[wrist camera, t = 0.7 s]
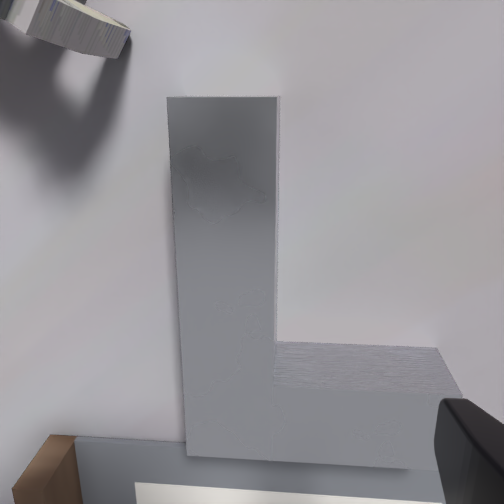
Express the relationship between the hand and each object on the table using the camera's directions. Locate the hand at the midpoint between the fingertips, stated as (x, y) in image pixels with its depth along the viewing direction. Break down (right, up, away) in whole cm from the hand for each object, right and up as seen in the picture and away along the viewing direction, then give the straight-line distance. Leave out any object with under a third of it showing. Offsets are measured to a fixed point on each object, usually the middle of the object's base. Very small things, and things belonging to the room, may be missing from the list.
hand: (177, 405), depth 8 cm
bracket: (+4, +2, +9) cm, 10 cm away
